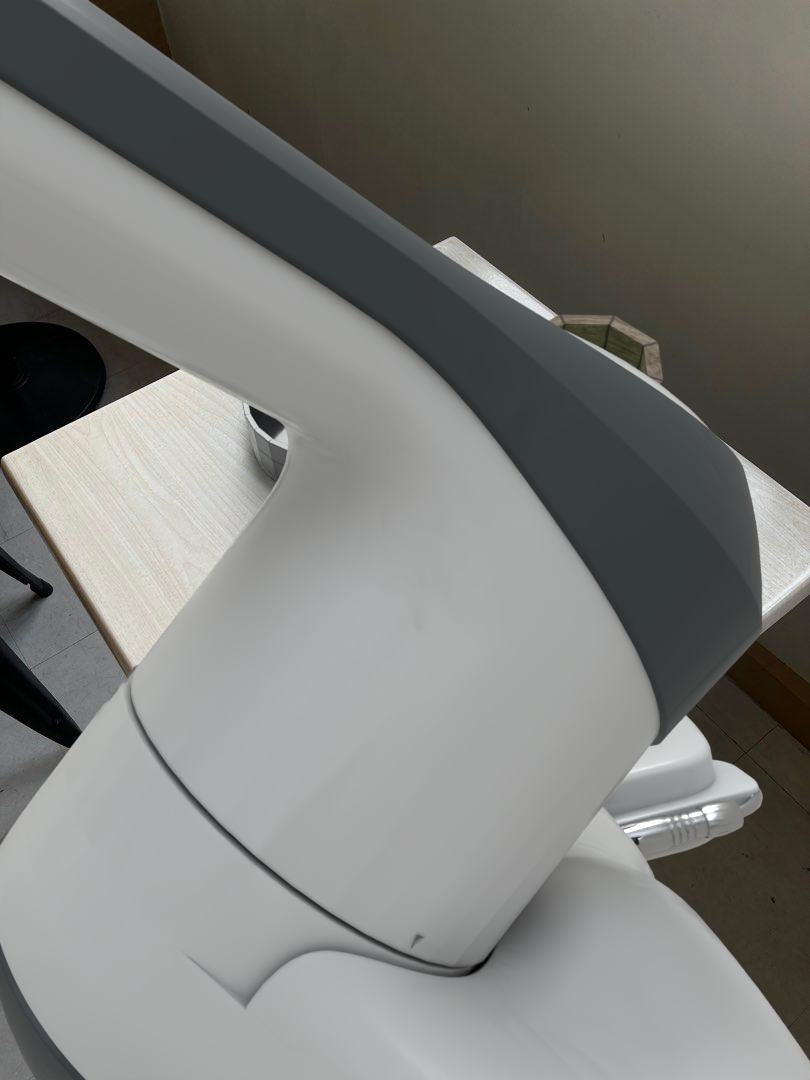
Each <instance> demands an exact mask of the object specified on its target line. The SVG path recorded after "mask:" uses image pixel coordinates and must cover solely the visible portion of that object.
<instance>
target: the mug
mask: <svg viewBox="0 0 810 1080" xmlns="http://www.w3.org/2000/svg"><path fill="white" fill-rule="evenodd" d="M548 320H549V321H550V322H552V323H554V324H555V325H557V326H559V327H560V328H562V329H563V330H566V331H568V332H570V333H572V334H574V335H576V336H578V337H580V338H582V339H584V340H586V341H588V342H590V343H592V344H594V345H597V346H598V347H600V348H602V349H604V350H606V351H607V352H609V353H611V354H613V355H615V356H617V357H618V358H620V359H622V360H624V361H625V362H627V363H628V364H630V365H632V366H633V367H635V368H636V369H638V370H639V371H641V372H642V373H644V374H645V375H647V376H648V377H650V378H652V379H653V380H655V381H656V382H658V383H659V384H660V385H662V386H663V383H664V375H663V368H662V367H663V366H662V359H661V353H660V349H659V348H660V346H659V341H657V340H656V339H653V337H650V336H649V335H648V334H646V333H644V332H642V331H641V330H639V329H637V328H636V327H634V326H632V325H630V324H629V323H627V322H626V321H624V320H622V319H621V318H619V317H618V316H616V315H601V314H599V315H598V314H594V315H593V314H557V315H556V316H554V317H552V318H550V319H548Z"/></svg>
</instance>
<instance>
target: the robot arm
mask: <svg viewBox="0 0 810 1080" xmlns="http://www.w3.org/2000/svg"><path fill="white" fill-rule="evenodd" d="M0 276H2V277H3V278H5V279H7V280H9V281H11V282H13V283H15V284H17V285H19V286H20V287H22V288H24V289H26V290H28V291H30V292H32V293H34V294H36V295H37V296H39V297H41V298H43V299H45V300H47V301H49V302H51V303H53V304H55V305H57V306H59V307H61V308H62V309H64V310H67V311H68V312H70V313H72V314H74V315H76V316H78V317H80V318H82V319H83V320H85V321H87V322H89V323H91V324H93V325H95V326H97V327H99V328H101V329H103V330H105V331H106V332H108V333H110V334H112V335H115V336H116V337H118V338H120V339H121V340H124V341H126V342H127V343H130V344H132V345H133V346H135V347H137V348H139V349H141V350H143V351H145V352H147V353H149V354H150V355H152V356H155V357H156V358H158V359H160V360H162V361H163V362H166V363H168V364H169V365H172V366H173V367H175V368H177V369H179V370H181V371H183V372H185V373H187V374H189V375H191V376H192V377H194V378H196V379H198V380H200V381H202V382H204V383H206V384H208V385H210V386H212V387H214V388H216V389H218V390H219V391H220V392H223V393H226V394H227V395H229V396H231V397H233V398H235V399H237V400H239V401H240V402H241V403H242V402H244V403H246V404H248V405H250V406H252V407H254V408H256V409H258V410H259V411H261V412H263V413H265V414H267V415H269V416H271V417H273V418H275V419H277V420H278V421H279V422H281V423H282V424H283V425H284V426H285V428H286V431H287V436H288V450H287V456H286V461H285V465H284V467H283V469H282V472H281V474H280V477H279V479H278V481H277V482H276V481H275V484H274V486H273V487H272V489H271V491H270V492H269V494H268V495H267V497H266V498H265V499H264V501H262V503H261V505H260V506H259V507H258V508H257V510H256V512H255V513H254V514H253V515H252V516H251V518H250V520H249V521H248V522H247V523H246V525H244V527H243V528H242V529H241V531H240V532H239V533H238V535H237V536H236V537H235V539H234V540H233V541H232V542H231V544H230V546H229V547H228V548H227V549H226V550H225V552H224V553H223V555H221V557H220V558H219V560H218V561H217V562H216V564H215V565H214V566H213V567H212V569H211V570H210V571H209V572H208V574H207V575H206V577H205V578H204V579H203V580H202V582H201V583H200V584H199V585H198V587H197V588H196V590H195V591H194V592H193V593H192V595H191V596H190V598H189V599H188V600H187V601H186V603H184V605H183V607H182V608H181V609H180V610H179V612H178V613H177V614H176V615H175V616H174V618H173V619H172V621H171V622H170V623H169V625H168V626H166V627H167V628H166V629H165V630H164V631H163V632H162V634H160V637H158V639H157V640H156V642H155V643H154V644H153V646H152V647H151V648H150V650H149V651H148V652H147V653H146V655H145V656H144V657H143V659H142V660H141V661H140V662H139V664H137V665H135V666H133V667H132V669H131V670H130V671H129V673H128V674H127V675H126V676H123V678H122V679H121V680H120V682H119V683H118V684H117V686H116V687H115V690H114V692H113V694H111V696H110V698H109V699H107V701H105V702H104V703H103V704H102V706H101V707H100V708H99V710H98V711H97V712H96V713H95V715H94V717H93V718H92V719H91V720H90V722H89V723H88V724H87V725H86V727H85V728H84V729H83V731H82V732H81V734H80V735H79V736H78V737H77V739H76V740H75V741H74V743H73V744H72V745H71V747H70V748H69V749H68V751H67V752H66V753H65V755H64V756H63V757H62V759H61V760H60V762H58V764H57V766H55V767H54V770H52V772H51V773H50V775H49V776H48V777H47V778H46V780H45V781H44V782H43V783H42V785H41V786H40V788H39V789H38V791H37V792H36V793H35V794H34V796H33V797H32V798H31V800H30V801H29V803H28V804H27V805H26V807H25V808H24V810H23V811H22V812H21V813H20V815H19V816H18V818H17V819H16V820H15V822H14V824H13V825H12V827H11V828H9V829H8V830H7V831H6V832H5V833H4V834H3V836H2V837H1V838H0V1005H1V1008H2V1010H3V1013H4V1016H5V1019H6V1023H7V1025H8V1027H9V1030H10V1032H11V1034H12V1036H13V1039H14V1041H15V1043H16V1045H17V1047H18V1049H19V1052H20V1054H21V1055H22V1058H23V1059H24V1061H25V1064H26V1066H27V1067H28V1069H29V1071H30V1073H31V1075H32V1076H33V1078H34V1080H810V1060H809V1058H808V1056H807V1055H806V1053H805V1052H804V1050H803V1049H802V1047H801V1045H799V1043H798V1042H797V1040H796V1039H795V1037H794V1036H793V1034H792V1033H791V1032H790V1030H789V1029H788V1027H787V1025H786V1024H785V1023H784V1022H783V1020H782V1019H781V1017H780V1016H779V1015H778V1013H777V1012H776V1011H775V1009H774V1008H773V1006H772V1005H771V1004H770V1002H769V1000H768V999H767V998H766V997H765V995H764V994H763V993H762V992H761V989H759V987H758V986H757V985H756V983H755V982H754V981H753V979H752V978H751V977H750V976H749V975H748V973H747V972H746V970H745V969H744V968H743V967H742V965H741V964H740V963H739V962H738V960H737V959H736V958H735V956H734V955H733V954H732V953H731V952H730V950H729V949H728V948H727V947H726V945H725V944H724V943H723V941H721V939H720V938H719V937H718V936H717V935H716V933H714V931H713V930H712V929H711V928H710V927H709V925H708V924H707V923H706V922H705V920H704V919H703V918H702V917H701V916H700V915H699V914H698V913H697V912H696V911H695V909H693V908H692V906H690V905H689V904H688V903H687V902H686V901H685V900H684V899H683V898H682V897H681V896H680V895H678V894H677V893H676V892H674V890H672V889H671V888H670V887H668V886H667V885H665V884H664V883H662V882H661V881H659V880H657V879H656V877H655V875H654V872H653V870H652V869H651V866H650V864H649V863H648V861H651V860H655V859H659V858H663V857H667V856H671V855H674V854H678V853H682V852H685V851H686V852H687V851H689V850H692V849H695V848H698V847H700V846H702V845H705V844H707V843H708V842H710V841H712V840H713V839H714V838H718V837H722V836H726V835H729V834H732V833H734V832H736V831H738V830H740V829H741V828H742V827H744V824H745V823H744V818H746V817H747V816H749V815H752V814H753V813H754V812H756V811H757V810H758V809H759V808H760V807H762V803H763V792H762V790H761V788H760V787H759V784H758V782H757V781H756V780H755V779H754V778H753V777H751V776H750V775H749V774H747V773H746V772H744V771H743V770H742V769H740V768H739V767H738V766H736V765H735V764H732V763H729V762H726V761H723V760H717V759H713V754H712V750H711V745H710V743H709V742H708V740H707V738H706V737H705V735H704V734H703V733H702V731H701V729H700V728H699V727H698V726H697V725H696V724H695V722H693V720H691V718H689V717H688V714H689V713H690V712H691V711H692V709H693V708H695V706H696V705H697V704H699V702H700V701H701V700H702V699H703V698H704V697H705V696H706V694H707V693H708V692H709V691H710V690H711V689H712V688H713V687H714V686H715V685H716V684H717V683H718V681H720V679H721V678H722V677H723V676H725V674H726V673H727V672H728V671H729V669H730V668H732V667H733V665H734V664H735V663H736V662H737V661H738V660H739V659H740V658H741V657H742V656H743V654H745V652H746V651H747V650H748V649H749V648H750V647H751V646H752V644H754V643H755V641H756V640H757V639H758V638H759V637H760V636H761V633H762V630H763V577H762V576H763V575H762V564H761V551H760V539H759V533H758V525H757V519H756V514H755V509H754V503H753V499H752V495H751V490H750V487H749V483H748V478H747V474H746V472H745V468H744V465H743V463H742V462H741V460H740V459H739V458H738V457H737V455H736V453H734V451H733V450H732V449H731V448H730V447H729V445H727V444H726V443H725V442H724V441H723V439H721V438H720V437H719V436H718V435H716V433H714V431H713V430H711V429H710V428H709V427H708V426H707V425H706V423H704V421H703V420H702V419H701V418H700V417H699V415H697V414H696V413H695V412H694V411H693V410H692V409H691V408H690V407H689V406H688V405H686V404H685V403H684V402H683V401H681V400H680V399H679V398H678V397H677V396H675V395H674V394H673V393H671V392H670V391H669V390H668V389H667V388H665V387H664V386H663V384H662V385H660V384H659V383H658V382H656V381H655V380H653V379H652V378H650V377H648V376H647V375H645V374H644V373H642V372H641V371H639V370H638V369H636V368H635V367H633V366H632V365H630V364H628V363H627V362H625V361H624V360H622V359H620V358H618V357H617V356H615V355H613V354H611V353H609V352H607V351H606V350H604V349H602V348H600V347H598V346H597V345H594V344H592V343H590V342H588V341H586V340H584V339H582V338H580V337H578V336H576V335H574V334H572V333H570V332H568V331H566V330H563V329H562V328H560V327H559V326H557V325H555V324H554V323H552V322H550V321H549V320H550V319H547V318H545V317H544V316H542V315H541V314H539V313H537V312H536V311H534V310H532V309H531V308H529V307H528V306H526V305H524V304H522V303H521V302H519V301H517V300H516V299H515V298H513V297H511V296H509V294H506V293H505V292H503V291H501V290H500V289H498V288H496V287H495V286H493V284H491V283H489V282H487V281H485V280H484V279H482V278H481V277H479V276H478V275H476V274H474V273H473V272H472V271H470V270H468V269H467V268H465V267H464V266H463V265H461V264H460V263H458V262H457V261H455V260H453V259H452V258H451V257H449V256H448V255H446V254H444V253H443V252H441V250H439V249H437V248H436V247H434V246H433V245H432V244H430V243H429V242H427V241H426V240H424V239H423V238H422V237H420V236H419V235H418V234H416V233H415V232H414V231H411V230H410V229H409V228H407V227H406V226H404V225H403V224H402V223H401V222H399V221H398V220H396V219H395V218H393V217H392V216H390V215H389V214H388V213H386V212H385V211H384V210H382V209H381V208H379V207H378V206H377V205H376V204H373V203H372V202H371V201H369V200H368V199H367V198H366V197H364V196H362V195H361V194H360V193H358V192H357V191H355V190H354V189H352V188H351V187H350V186H349V185H347V184H346V183H344V182H343V181H341V180H340V179H339V178H337V177H336V176H335V175H333V174H332V173H330V172H329V171H328V170H326V169H325V168H323V167H322V166H320V164H318V163H316V162H315V161H314V160H312V159H311V158H310V157H308V156H306V155H305V154H304V153H303V152H301V151H300V150H298V149H297V148H295V147H294V146H293V145H291V144H290V143H289V142H287V141H286V140H284V139H282V138H281V137H280V136H278V135H277V134H276V133H274V132H273V131H272V130H270V129H269V128H267V127H266V126H264V125H263V124H261V123H260V122H259V121H258V120H257V119H255V118H253V117H252V116H251V115H249V114H248V113H246V112H245V111H244V110H242V109H241V108H240V107H238V106H237V105H236V104H234V103H233V102H231V101H230V100H228V99H227V98H226V97H224V96H222V95H221V94H220V93H218V92H217V91H215V90H214V89H213V88H212V87H210V86H209V85H207V84H206V83H204V82H203V81H202V80H200V78H198V77H196V76H195V75H194V74H192V73H191V72H189V71H188V70H186V69H185V68H184V67H182V66H181V65H179V64H178V63H177V62H175V61H173V60H172V59H171V58H170V57H168V56H167V55H165V54H164V53H163V52H162V51H160V50H158V49H157V48H155V47H154V46H153V45H151V44H150V43H149V42H147V41H146V40H145V39H143V38H142V37H141V36H139V35H137V34H136V33H134V31H132V30H130V29H129V28H128V27H126V26H125V25H123V24H122V23H121V22H120V21H118V20H117V19H115V18H114V17H112V16H111V15H109V14H108V13H106V12H105V11H104V10H103V9H101V8H99V7H98V6H97V5H96V4H94V3H92V1H90V0H0Z"/></svg>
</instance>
